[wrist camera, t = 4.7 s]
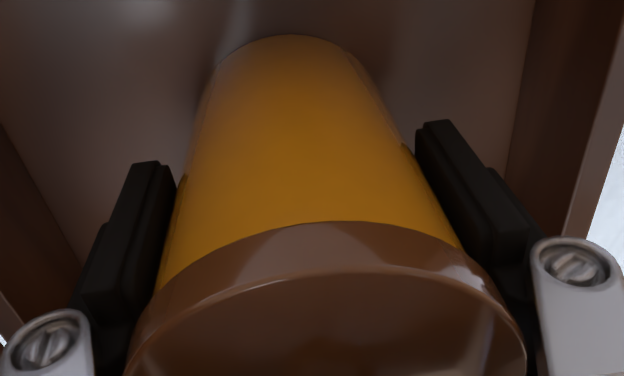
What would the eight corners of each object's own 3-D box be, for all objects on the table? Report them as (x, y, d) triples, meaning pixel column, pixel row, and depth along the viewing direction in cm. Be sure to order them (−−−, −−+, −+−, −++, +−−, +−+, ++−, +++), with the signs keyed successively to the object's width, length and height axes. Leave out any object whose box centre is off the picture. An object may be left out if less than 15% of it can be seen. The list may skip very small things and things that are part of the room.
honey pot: (386, 14, 12) (649, 322, 4) (387, 191, 16) (533, 552, 8) (165, 43, 12) (-21, 424, 4) (215, 216, 16) (172, 611, 7)
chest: (581, -193, 11) (738, -217, 7) (502, 239, 19) (559, 326, 15) (-138, -101, 10) (-334, -82, 7) (92, 299, 18) (53, 402, 15)
